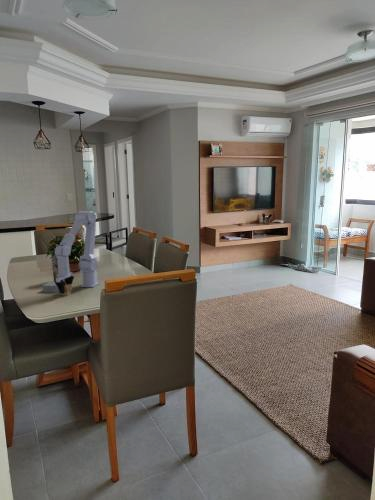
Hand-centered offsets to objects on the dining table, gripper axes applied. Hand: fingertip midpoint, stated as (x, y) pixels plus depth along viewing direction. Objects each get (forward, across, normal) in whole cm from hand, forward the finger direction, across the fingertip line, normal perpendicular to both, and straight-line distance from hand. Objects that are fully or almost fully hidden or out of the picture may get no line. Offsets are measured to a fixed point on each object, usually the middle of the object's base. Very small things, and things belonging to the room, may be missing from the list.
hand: (65, 291), depth 197 cm
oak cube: (+2, 0, 0) cm, 2 cm away
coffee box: (+2, -23, -15) cm, 28 cm away
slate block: (+2, -6, -11) cm, 13 cm away
